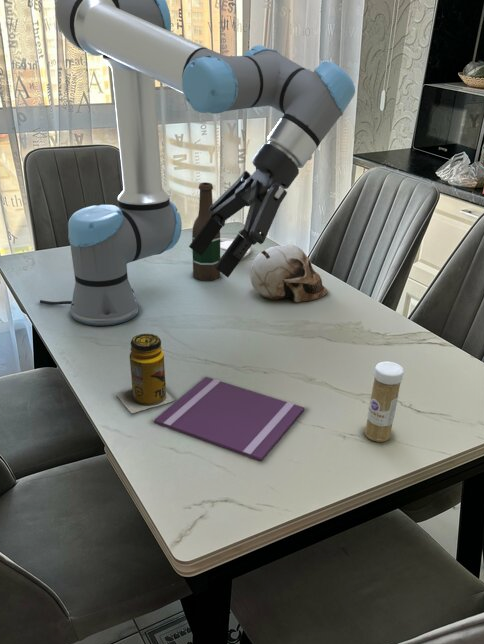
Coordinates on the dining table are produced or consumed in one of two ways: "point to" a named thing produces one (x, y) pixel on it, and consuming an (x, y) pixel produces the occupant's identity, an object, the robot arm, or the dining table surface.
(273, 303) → the dining table surface
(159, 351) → the condiment
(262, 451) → the towel
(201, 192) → the beer bottle
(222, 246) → the white rounded slab
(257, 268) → the coin bank
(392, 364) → the sprinkles bottle
